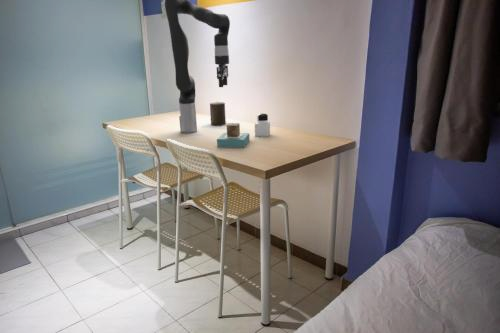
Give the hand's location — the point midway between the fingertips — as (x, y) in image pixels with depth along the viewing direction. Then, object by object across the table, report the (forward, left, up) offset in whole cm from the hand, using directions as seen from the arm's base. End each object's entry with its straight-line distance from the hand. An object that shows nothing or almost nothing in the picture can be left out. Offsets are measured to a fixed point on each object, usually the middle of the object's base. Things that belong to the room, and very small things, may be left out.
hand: (223, 86), depth 201 cm
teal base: (+8, -14, -28) cm, 32 cm away
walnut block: (+8, -14, -24) cm, 29 cm away
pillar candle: (-14, +34, -28) cm, 46 cm away
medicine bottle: (+20, +6, -28) cm, 35 cm away
